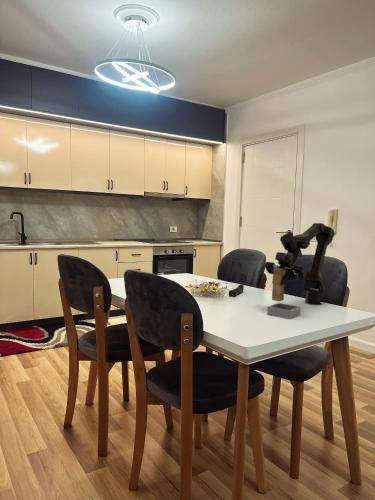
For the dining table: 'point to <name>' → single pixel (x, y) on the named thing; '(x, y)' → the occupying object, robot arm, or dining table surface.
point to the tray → (284, 310)
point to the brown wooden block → (278, 284)
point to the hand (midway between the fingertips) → (276, 284)
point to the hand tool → (236, 291)
